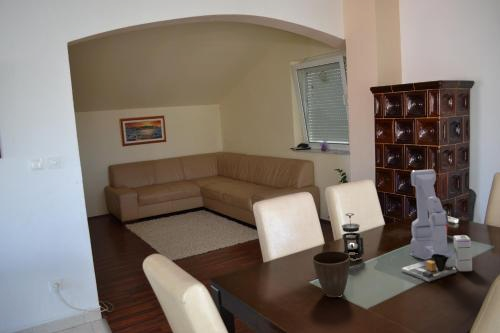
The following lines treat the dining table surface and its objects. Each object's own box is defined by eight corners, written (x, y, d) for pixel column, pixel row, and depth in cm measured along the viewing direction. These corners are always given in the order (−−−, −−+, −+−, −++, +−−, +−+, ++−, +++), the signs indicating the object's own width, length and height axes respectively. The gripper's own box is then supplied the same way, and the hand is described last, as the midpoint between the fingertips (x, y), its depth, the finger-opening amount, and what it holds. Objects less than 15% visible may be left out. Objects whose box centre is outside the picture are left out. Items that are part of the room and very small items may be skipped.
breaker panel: (401, 271, 186) (401, 265, 185) (428, 262, 193) (428, 256, 192) (428, 281, 172) (428, 274, 172) (456, 271, 179) (456, 265, 179)
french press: (338, 258, 210) (335, 214, 207) (350, 253, 215) (347, 210, 213) (357, 263, 200) (353, 217, 198) (369, 258, 206) (366, 213, 203)
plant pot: (345, 305, 159) (342, 265, 157) (310, 299, 167) (306, 261, 165) (357, 289, 171) (354, 252, 170) (323, 285, 179) (320, 249, 178)
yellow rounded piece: (426, 269, 181) (426, 261, 181) (430, 267, 182) (430, 260, 182) (432, 271, 178) (431, 263, 178) (436, 269, 179) (435, 262, 179)
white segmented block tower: (472, 271, 178) (471, 238, 177) (458, 271, 179) (456, 239, 178) (468, 266, 184) (467, 234, 182) (454, 266, 185) (452, 235, 183)
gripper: (418, 238, 179) (420, 268, 180) (447, 246, 166) (449, 278, 167) (430, 234, 182) (432, 264, 183) (459, 242, 169) (461, 274, 170)
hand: (441, 270), depth 175 cm, fingers closed
